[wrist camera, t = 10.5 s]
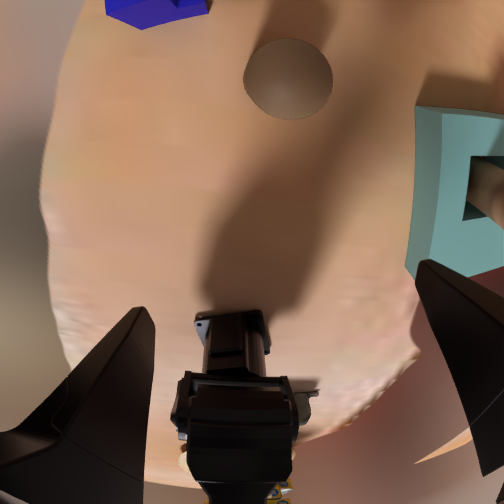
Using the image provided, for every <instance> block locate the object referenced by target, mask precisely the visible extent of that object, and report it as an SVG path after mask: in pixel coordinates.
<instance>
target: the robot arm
mask: <svg viewBox="0 0 504 504" xmlns="http://www.w3.org/2000/svg"><path fill="white" fill-rule="evenodd" d="M415 286H416V289H417V292H418V294H419V297H420V299H421V302H422V305H423V307H424V310H425V313H426V316H427V319H428V321H429V324H430V326H431V328H432V331H433V333H434V335H435V337H436V339H437V342H438V344H439V346H440V348H441V351H442V353H443V355H444V358H445V360H446V363H447V365H448V368H449V370H450V372H451V375H452V378H453V380H454V383H455V386H456V388H457V391H458V394H459V396H460V399H461V402H462V405H463V408H464V411H465V414H466V417H467V420H468V423H469V426H470V430H471V434H472V437H473V440H474V444H475V448H476V452H477V456H478V459H479V464H480V468H481V472H482V475H483V477H484V476H486V475H488V474H490V473H492V472H493V471H495V470H497V469H498V468H500V467H502V466H504V298H503V297H502V296H500V295H498V294H496V293H495V292H493V291H491V290H489V289H487V288H485V287H484V286H482V285H480V284H478V283H477V282H475V281H473V280H471V279H469V278H467V277H465V276H464V275H462V274H460V273H458V272H456V271H454V270H452V269H450V268H448V267H446V266H444V265H442V264H440V263H438V262H436V261H434V260H432V259H425V260H421V261H420V262H419V263H418V268H417V273H416V277H415ZM255 315H258V316H255ZM194 326H195V328H196V330H197V333H198V335H199V337H200V339H201V341H202V344H203V346H204V355H203V368H202V373H194V372H192V371H185V375H184V378H182V380H180V381H178V386H177V394H176V399H175V402H174V405H173V408H172V412H171V417H170V420H171V421H172V423H173V424H174V425H175V426H176V431H177V432H178V438H179V440H184V441H187V454H186V462H187V465H188V467H189V470H190V472H191V474H192V476H193V477H194V479H195V481H196V482H198V483H199V484H200V486H201V487H202V489H203V490H204V492H205V493H206V494H207V496H208V497H209V500H208V504H267V497H268V496H269V495H270V494H271V492H272V491H273V490H274V488H275V487H276V486H277V484H278V483H280V482H286V481H287V479H288V477H289V475H290V474H291V472H292V443H294V442H295V441H296V439H297V436H298V430H299V414H298V409H297V405H296V402H295V399H294V396H293V393H292V390H291V387H290V384H289V381H288V378H287V376H280V377H266V368H265V357H264V355H268V354H269V353H270V348H269V343H268V338H267V333H266V328H265V324H264V319H263V314H262V312H261V311H260V310H253V311H247V312H240V313H233V314H225V315H218V316H210V317H202V318H196V319H195V321H194ZM154 354H155V325H154V322H153V320H152V318H151V317H150V315H149V313H148V311H147V309H146V308H145V307H143V306H140V307H133V308H132V309H131V310H130V311H129V312H128V313H127V314H126V315H125V316H124V317H123V318H122V319H121V320H120V321H119V322H118V323H117V324H116V325H115V326H114V327H113V328H112V329H111V330H110V331H109V332H108V333H107V334H106V335H105V336H104V337H103V338H102V340H101V341H100V342H99V343H98V344H97V345H96V346H95V347H94V348H93V349H92V350H91V351H90V352H89V353H88V354H87V355H86V356H85V358H84V359H83V360H82V361H81V362H80V363H79V364H78V365H77V366H76V367H75V368H74V369H73V370H72V372H71V373H70V374H69V375H68V377H66V378H65V379H64V380H63V381H62V383H61V384H60V385H59V386H58V387H57V388H56V389H55V390H54V391H53V392H52V393H51V395H49V396H48V397H47V398H46V399H45V400H44V401H43V402H42V403H41V404H40V405H39V406H38V407H37V408H36V409H35V410H34V411H33V412H32V413H31V414H30V415H29V416H28V417H27V418H26V419H25V420H24V421H23V422H22V423H21V424H20V425H18V426H17V427H16V428H13V429H11V430H9V431H5V432H0V504H143V488H144V483H143V481H144V465H145V450H146V437H147V426H148V416H149V407H150V398H151V390H152V382H153V374H154ZM496 503H497V504H504V483H503V486H502V488H501V490H500V493H499V495H498V497H497V500H496Z"/></svg>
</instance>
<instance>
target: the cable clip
mask: <svg viewBox="0 0 504 504" xmlns="http://www.w3.org/2000/svg"><path fill="white" fill-rule="evenodd" d="M105 9H106V15H108V16H110V17H113V18H115V19H118V20H120V21H122V22H125V23H127V24H129V25H131V26H134V27H136V28H138V29H140V30H143V29H146V28H149V27H153V26H156V25H160V24H164V23H168V22H171V21H176V20H180V19H184V18H189V17H193V16H198V15H204V14H209V13H208V6H207V0H105Z"/></svg>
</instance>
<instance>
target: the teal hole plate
mask: <svg viewBox="0 0 504 504" xmlns="http://www.w3.org/2000/svg"><path fill="white" fill-rule="evenodd" d="M415 124H416V155H415V181H414V196H413V208H412V218H411V227H410V236H409V243H408V250H407V257H406V263H405V267H406V269H407V270H408V272H409V273H410V274H411V276H412V277H413V279H414V280H415V277H416V273H417V268H418V263H419V262H420V261H421V260H425V259H432V260H434V261H436V262H438V263H440V264H442V265H444V266H446V267H448V268H450V269H452V270H454V271H456V272H458V273H460V274H462V275H464V276H465V277H469V276H473V275H476V274H479V273H483V272H486V271H489V270H492V269H495V268H498V267H501V266H504V230H503V229H502V228H501V227H500V226H499V225H497V224H496V223H495V222H494V221H493V220H491V219H490V218H489V217H488V216H486V215H485V214H484V213H483V212H481V211H480V210H479V209H478V208H476V207H475V206H474V205H472V204H471V203H470V202H469V201H467V200H466V194H467V186H468V178H469V169H470V157H471V156H484V159H485V160H487V161H489V162H490V163H492V164H494V165H496V166H498V167H499V168H501V169H503V170H504V115H503V114H497V113H490V112H483V111H475V110H467V109H457V108H445V107H429V106H415Z"/></svg>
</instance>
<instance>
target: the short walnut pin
mask: <svg viewBox="0 0 504 504" xmlns="http://www.w3.org/2000/svg"><path fill="white" fill-rule="evenodd" d="M243 82H244V87H245V90H246V92H247V94H248V95H249V97H250V98H251V99H252V100H253V102H254V103H255V104H256V105H257V106H258V107H259V108H260V109H261V110H263V111H264V112H266V113H267V114H269V115H271V116H274V117H277V118H280V119H286V120H296V119H302V118H305V117H308V116H310V115H312V114H314V113H316V112H317V111H318V110H319V109H321V108H322V107H323V106H324V104H325V103H326V102H327V100H328V98H329V96H330V94H331V91H332V86H333V75H332V71H331V68H330V65H329V63H328V61H327V59H326V58H325V57H324V55H323V54H322V53H321V52H320V51H319V50H318V49H317V48H315V47H314V46H312V45H311V44H309V43H307V42H304V41H301V40H297V39H290V38H284V39H277V40H274V41H271V42H268V43H266V44H265V45H263V46H261V47H260V48H259V49H258V50H257V51H256V52H255V53H254V54H253V55H252V57H251V58H250V60H249V62H248V64H247V67H246V69H245V72H244V76H243Z"/></svg>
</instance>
